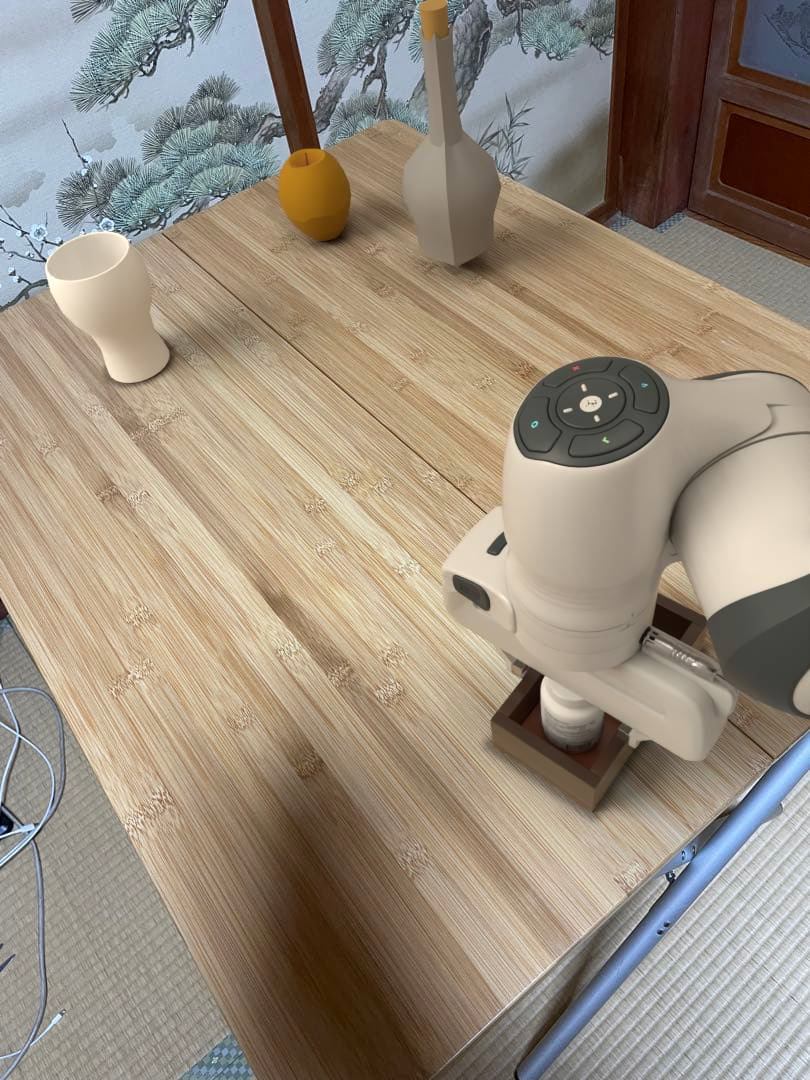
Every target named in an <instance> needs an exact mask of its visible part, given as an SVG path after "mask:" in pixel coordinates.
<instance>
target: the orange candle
mask: <svg viewBox="0 0 810 1080" xmlns="http://www.w3.org/2000/svg"><path fill="white" fill-rule="evenodd" d="M277 194H278V200H279V203H280V206H281V209H282V210H283V211H284V214H285V215H286V217H287V218H288V220H289V221H290V222H291V223H292V224H293V226H295V227H296V228H297V229H298V230H299V231H300V232H301V233H303V234H304V235H305V236H306V237H308V238H309V239H311V240H313V241H315V242H325V241H326V242H327V241H331V240H334V239H336V238H338V237H339V236H340V235H341V234H342V232H343V230H344V229H345V227H346V224H347V222H348V218H349V214H350V210H351V202H352V191H351V185H350V182H349V179H348V176H347V173H346V172H345V170H344V168H343V167H342V166H341V164H340V162H339V161H338V159H336V157H334V155H332V154H331V153H330V152H329V151H327V150H324V149H321V148H303V149H299V150H296V151H294V152H292V153H291V154H290V155H289V156H288V157H287V159H286V160H285V162H283V164H282V166H281V168H280V171H279V176H278V181H277Z"/></svg>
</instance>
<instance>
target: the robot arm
mask: <svg viewBox="0 0 810 1080" xmlns="http://www.w3.org/2000/svg"><path fill="white" fill-rule="evenodd" d="M507 431H508V432H507V435H506V440H505V445H504V451H503V461H502V469H501V471H502V472H501V505H497V506H495V507H494V508H492V509H491V510H490V511H489V512H487V513H486V514H484V516H483V517H481V519H480V520H478V521H477V523H475V524H474V525H473V527H471V529H469V530H468V532H467V533H466V534H465V535H464V536H463V537H462V538H461V539H460V541H459V542H458V543H457V544H456V546H455V547H454V548H453V549H452V550H451V552H450V553H449V555H448V556H447V557H446V559H445V560H444V562H443V563H442V565H441V567H440V573H441V576H442V583H441V592H442V599H443V604H444V608H445V611H446V612H447V613H448V615H449V616H450V617H451V618H452V619H453V620H454V622H456V623H457V624H458V625H460V626H462V627H463V628H465V629H467V630H468V631H470V632H472V633H474V634H475V635H477V636H479V637H480V638H482V639H483V640H485V641H487V642H488V643H490V644H492V645H493V647H494V648H495V650H496V651H497V652H498V653H499V655H500V656H501V657H502V659H503V660H504V661H505V665H506V671H508V672H509V673H510V674H512V675H514V676H516V677H517V678H519V679H521V680H522V679H525V678H526V676H527V672H529V671H531V670H532V669H535V670H536V671H538V672H540V673H541V674H543V675H545V676H546V677H548V678H550V679H551V680H553V681H555V682H556V683H558V684H560V685H561V686H563V687H565V688H566V689H568V690H570V691H571V692H573V693H575V694H576V695H578V696H580V697H581V698H583V699H585V700H586V701H588V702H590V703H591V704H593V705H594V706H596V707H598V708H599V709H601V710H603V711H604V712H606V713H608V714H609V715H611V716H613V717H614V718H616V719H618V720H619V721H621V722H622V724H621V725H620V727H619V728H618V732H617V733H618V735H617V738H619V739H621V740H622V741H624V742H625V743H627V744H628V745H630V746H631V747H633V748H635V749H637V748H638V746H639V745H640V743H641V742H643V741H653V742H654V743H656V744H658V745H659V746H661V747H663V748H664V749H665V750H668V751H669V752H670V753H672V754H673V755H675V756H676V757H679V758H681V759H682V760H684V761H686V762H687V761H688V762H702V761H704V760H706V758H707V757H708V755H709V754H710V752H712V750H713V748H714V746H715V745H716V743H717V741H718V739H719V738H720V736H721V735H722V733H723V731H724V729H725V727H726V725H727V723H728V718H729V715H731V714H733V712H734V711H735V709H736V707H737V704H738V702H739V697H740V692H741V693H743V694H745V695H746V696H748V697H751V699H754V700H756V701H757V702H759V703H762V704H763V705H766V706H769V707H771V708H773V709H775V710H778V711H780V712H783V713H786V714H789V715H792V716H795V717H798V718H801V719H806V720H810V390H809V388H807V386H806V385H804V384H803V383H802V382H801V381H799V380H798V379H797V378H795V377H792V376H790V375H787V374H784V373H781V372H777V371H771V370H761V369H740V370H732V371H724V372H719V373H714V374H708V375H704V376H699V377H694V378H690V379H689V378H688V379H687V378H680V377H675V376H672V375H668V374H666V373H664V372H662V371H661V370H659V369H657V368H656V367H654V366H652V365H650V364H649V363H646V362H644V361H642V360H639V359H635V358H631V357H625V356H620V355H599V356H591V357H586V358H583V359H582V358H581V359H578V360H575V361H572V362H568V363H566V364H563V365H562V366H559V367H557V368H555V369H553V370H552V371H550V372H549V373H547V374H546V375H544V376H543V377H541V378H540V379H539V380H538V381H537V382H536V383H535V384H534V385H533V386H532V387H531V388H530V389H529V391H528V392H527V393H526V395H525V396H524V398H523V399H522V400H521V403H520V404H519V405H518V407H517V409H516V411H515V412H514V415H513V417H512V420H511V422H510V425H509V427H508V430H507ZM679 562H680V563H681V565H682V567H683V569H684V572H685V574H686V576H687V579H688V581H689V583H690V586H691V587H692V590H693V592H694V594H695V597H696V600H697V601H698V603H699V606H700V608H701V610H702V613H703V614H704V615H703V616H705V617H706V619H707V622H706V626H707V632H708V636H709V638H710V641H711V644H712V647H713V650H714V653H715V655H716V659H717V661H718V663H717V661H716V660H714V659H713V658H712V657H710V656H708V655H707V654H705V653H704V652H702V651H698V650H696V649H694V648H692V647H690V646H689V645H687V644H685V643H683V642H681V641H679V640H677V639H675V638H674V637H672V636H670V635H668V634H666V633H664V632H662V631H660V630H659V629H657V628H655V627H653V626H652V622H653V616H654V611H655V606H656V599H657V594H658V593H659V587H660V582H661V578H662V575H663V572H664V571H665V570H666V568H668V567H669V566H671V565H672V564H675V563H679Z"/></svg>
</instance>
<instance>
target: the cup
mask: <svg viewBox="0 0 810 1080" xmlns="http://www.w3.org/2000/svg"><path fill="white" fill-rule="evenodd" d="M143 260H144V259H143V258H142V257H141V256H140V254H139V252H137V250H136V249H135V247H134V246H133V245H132V243H131V242H130V241H129V240H128V238H127V237H126V236H125V235H122V234H121V233H118V232H116V231H115V232H114V231H94V232H88V233H85V234H82V235H79V236H76V237H74V238H71V239H69V240H67V241H66V242H65V243H63V244H60V245H59V246H58V247H57V248H56V249H55V250H54V251H53V252H51V254H50V255H49V256H48V257H47V260H46V262H45V265H44V268H45V269H44V270H45V271H44V272H45V275H46V279H47V283H48V287H49V290H50V294H51V295H52V297H53V299H54V300H55V302H56V304H57V306H58V308H59V310H60V312H61V313H62V314H63V315H64V316H65V317H66V319H68V320H69V321H70V322H71V324H73V325H74V326H75V327H76V328H78V329H79V330H81V331H82V332H84V333H86V334H87V335H89V336H90V337H91V338H92V339H93V341H94V342H95V343H96V345H97V346H98V347H99V349H100V351H101V354H102V357H103V361H104V364H105V367H106V370H107V373H108V374H109V376H110V378H112V379H113V380H114V381H116V382H119V383H123V384H132V383H140V382H143V381H146V380H148V379H150V378H152V377H154V376H156V375H158V373H160V372H161V371H162V370H164V368H166V365H167V364H168V362H169V361H170V357H171V355H170V350H169V348H168V347H167V345H166V343H165V341H164V340H163V339H162V337H161V336H160V334H159V333H158V331H157V330H156V329H155V326H154V323H153V319H152V316H151V308H152V300H153V298H152V287H151V280H150V279H151V278H150V275H149V272H148V270H147V268H146V265H145V263H144V261H143Z"/></svg>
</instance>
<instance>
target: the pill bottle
mask: <svg viewBox="0 0 810 1080" xmlns="http://www.w3.org/2000/svg"><path fill="white" fill-rule="evenodd" d="M541 723H542V730H543V733H544V736H545V737H546V739H547V740H548V742H549V743H550V744H551V745H553V746H554V747H555V748H557V749H558V750H560V751H563V752H566V753H573V754H574V753H582V752H585V751H588V750H589V749H591V748H592V747H594V746H595V745H596V744H597V742H598V741H599V739H600V738H601V735H602V732H603V724H604V711H603V710H601V709H599V708H598V707H596V706H594V705H593V704H591V703H590V702H588V701H586V700H585V699H583V698H581V697H580V696H578V695H576V694H575V693H573V692H571V691H570V690H568V689H566V688H565V687H563V686H561V685H560V684H558V683H556V682H555V681H553V680H551V679H550V678H548V677H546V676H544V678H543V681H542V684H541Z"/></svg>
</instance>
